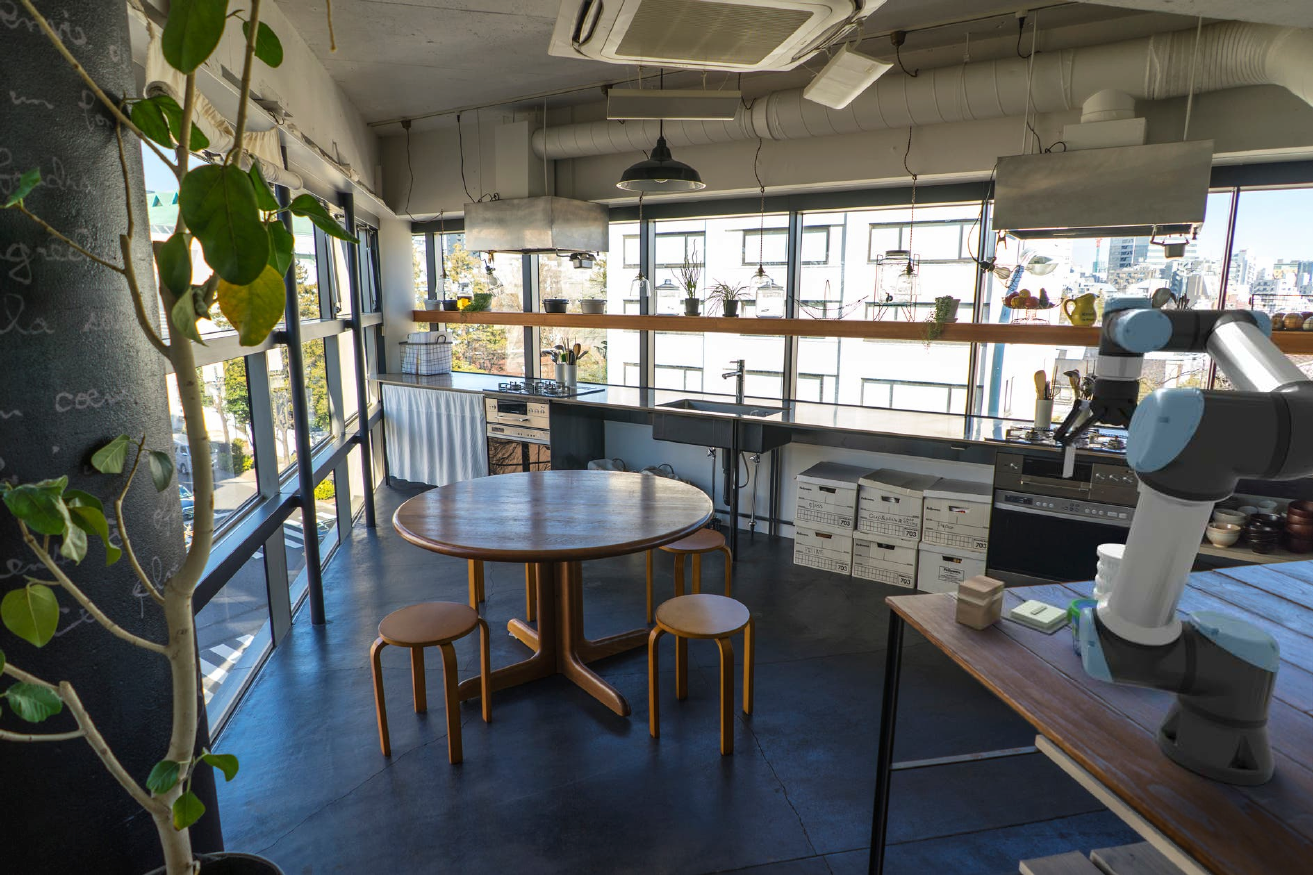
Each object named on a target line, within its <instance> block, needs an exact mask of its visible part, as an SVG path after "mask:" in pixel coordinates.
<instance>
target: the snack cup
mask: <svg viewBox="0 0 1313 875" xmlns="http://www.w3.org/2000/svg"><path fill="white" fill-rule="evenodd" d="M1097 603H1098V600H1096V599H1094V598H1078V599H1077V598H1076V599H1074V600H1072V601H1071V602H1070V605H1069V607H1068V609H1067V611H1066V614H1067V615H1066V620H1067V622H1068V624H1071V629H1072V630H1071V632H1072V633H1071V636H1072V638H1071V640H1072V649H1073V651H1075V653H1077V654H1079V655H1081V656H1082V654H1081V646H1080V630H1079V620H1080V612H1081V610H1082V609H1083V608H1089V607H1093V608H1095V609H1096V606H1097Z"/></svg>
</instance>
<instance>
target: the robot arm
mask: <svg viewBox="0 0 1313 875" xmlns="http://www.w3.org/2000/svg"><path fill="white" fill-rule="evenodd" d="M1151 303H1152V302H1151V299H1150V298H1149V297H1143V296H1141V297H1139V296H1137V297H1136V296H1135V297H1133V296H1132V297H1131V296H1124V297H1123V296H1118V297H1117V296H1114V297H1113V296H1112V297H1108V298H1107V299H1106V300H1105V302H1104V306H1103V307H1104V308H1103V312H1102V313H1101V318H1102V319H1101V328H1100V336H1099V345H1098V353H1097V359H1096V368H1095V374H1096V376H1098V377H1096V378H1094V383H1093V390H1092V399H1091V400H1086V399H1085V397H1081V398H1076V399H1074V401H1073V405H1072V409H1071V410H1070V411H1069V413H1068V415H1067V416H1066V417H1065V419H1064V420H1063V421H1062V423H1061V424H1060V426H1059V427H1058V429H1057V430H1056V431H1055V433H1054V434H1053V435H1052V440H1053V441H1054V442H1058V443H1059V444H1060V445H1061V450H1060V456H1059V457H1060V460H1061V461H1064V464H1063V473H1062V478H1066V479H1067V478H1070V477H1073V474H1074V473H1073V472H1074V467H1075V466H1074V463H1075V455H1076V448H1077V445H1076V444H1074V442H1075V441H1076V440H1077V439H1079V438H1080V437H1081V436H1083V434H1085V433H1086V432H1088V431H1089V429H1091V428H1092V427H1093V426H1095V425H1096V424H1098V423H1099V424H1100V425H1110V426H1113V427H1121V426H1122V427H1123V428H1124V429H1125V430H1126V431H1127V434H1128V435H1127V438H1126V442H1125V455H1126V456H1125V457H1126V461H1127V463H1128V465H1129V467H1130V468H1131V469H1134V471H1133V472H1134V475H1135V477H1136V478H1137V480H1138V484H1137V491H1136V492H1139V497H1138V501H1137V504H1136V508H1135V511H1134V514H1133V518H1132V521H1131V525H1130V528H1129V531H1128V535H1127V539H1126V542H1125V544H1124V545H1125V549H1124V552H1123V556H1122V559H1121V563H1120V566H1119V570H1118V573H1117V577H1116V580H1115V583H1114V587H1113V590H1112V592H1109V593H1106V594H1105V595H1103V596H1102V597H1101V598H1100V599H1099V600H1098V603H1097V606H1096V609H1095V608H1093V607H1089V608H1083V609H1082V610H1081V612H1080V620H1079V630H1080V646H1081V654H1082V655H1081V660H1082V665H1083V667H1084V671H1085V672H1086V674H1087V675H1088V676H1089V677H1091V678H1093V679H1094V680H1098V681H1103V682H1106V683H1111V684H1112V685H1113V684H1114V685H1116V684H1117V685H1122V686H1130V687H1134V688H1135V687H1136V688H1142V689H1148V690H1153V691H1154V690H1155V691H1161V692H1166V693H1167V692H1168V693H1174V694H1176V696H1175V699H1174V701H1173V702H1172V704H1171V706H1170V707H1169V708H1168V710H1167V712H1165V714H1164V715H1163V717H1162V719H1161V720H1160V721H1159V724H1158V726H1157V730H1156V731H1157V732H1156V737H1155V739H1156V742H1157V743H1156V744H1158V747H1159V748H1160V750H1161V751H1162V752H1163V753H1164V754H1165V755H1166V756H1167V757H1169V758H1170V759H1171V760H1173V761H1174V762H1176V763H1177V764H1179V765H1180V766H1182V767H1184V768H1186V769H1187V770H1189V771H1192V772H1194V773H1196V774H1198V775H1201V776H1203V777H1207V778H1208V779H1209V778H1210V779H1212V780H1215V781H1219V782H1223V783H1227V784H1231V785H1236V786H1237V785H1238V786H1258V785H1263V784H1266V783H1268V782H1270V781H1271V779H1272V778H1273V773H1274V769H1275V759H1274V758H1275V757H1274V754H1273V748H1272V745H1271V742H1270V737H1269V732H1268V728H1267V725H1268V719H1269V715H1270V709H1271V704H1272V699H1273V695H1274V690H1275V686H1276V680H1277V675H1278V673H1279V671H1280V666H1279V663H1280V662H1279V661H1280V654H1281V653H1280V652H1281V648H1280V644H1279V643H1278V640H1276V638H1274V636H1272V634H1270V633H1269V632H1268V631H1266V630H1264V629H1263V628H1261V627H1259V626H1257V625H1255V624H1253V623H1251V622H1249V621H1247V620H1244V619H1241V618H1240V617H1236V616H1234V615H1230V614H1226V613H1223V612H1220V611H1215V610H1208V609H1199V610H1193V611H1191V612H1190V614H1189V615H1188V616H1187V620H1183V619H1182V620H1181V618H1180V616H1179V615H1178V613H1177V609H1178V607H1179V604H1180V602H1181V597H1182V595H1183V592H1184V590H1185V588H1186V584H1187V583H1188V582H1187V581H1188V578H1189V576H1190V574H1191V571H1192V567H1193V565H1194V561H1195V558H1196V557H1197V553H1198V551H1199V548H1200V545H1201V543H1202V540H1203V537H1204V534H1205V532H1206V529H1207V526H1208V524H1209V520H1210V517H1211V514H1212V512H1213V510H1214V506H1215V503H1218V502H1222V501H1224V500H1226V499H1229V497H1231V496H1233V494H1234V491H1235V489H1236V488H1237V487H1236V486H1237V484H1238V481H1239V480H1240V479H1245V480H1258V481H1259V480H1261V481H1272V482H1273V481H1275V482H1276V481H1277V482H1278V481H1292V480H1297V479H1301V478H1307V477H1309V476H1310V477H1311V476H1312V475H1313V379H1311V378H1309V377H1308V376H1307V374H1305V373H1304V371H1302V369H1300V368H1299V367H1298V366H1297V365H1296V364H1295V363H1294V362H1293V361H1292V360H1291V359H1290V358H1289V357H1288V356H1287V355H1286V354H1285V353H1284V352H1283V351H1282V350H1281V349H1280V348H1279V347H1278V346H1277V345H1276V344H1274V342H1273V341H1271V337H1272V330H1273V329H1272V328H1273V325H1272V322H1271V318H1270V316H1269V314H1268V313H1267V312H1265V311H1263V310H1255V309H1254V310H1253V309H1246V308H1237V309H1195V308H1194V309H1187V308H1186V309H1185V308H1184V309H1183V308H1182V309H1180V308H1177V309H1176V308H1174V309H1173V308H1151V306H1152V304H1151ZM1152 352H1153V353H1155V352H1156V353H1159V352H1160V353H1189V354H1192V353H1193V354H1208V355H1209V357H1210V358H1211V360H1213V361H1214V363H1215V365H1217V367H1218V368H1219V369H1220V371H1222V373H1223V374H1224V375H1223V376H1225V377H1226V378H1227V380H1228V381H1229V382H1230V383H1231V385H1232V386H1233V387H1234V389H1233V390H1232V389H1230V390H1229V389H1211V388H1199V387H1194V386H1184V387H1162V388H1157V389H1155V390H1152V391H1151V392H1149V393H1147V394H1146V395H1145V396H1144V397H1143V398H1142V399H1141V401H1139V403H1138V400H1139V394H1140V393H1139V392H1140V386H1141V382H1140V380H1139V379H1137V378H1140V377H1141V376H1142V370H1143V365H1144V356H1145V354H1149V353H1152ZM1087 408H1089V410H1090V411H1091V413H1092V414H1091V415H1090V416H1089V417H1088V418H1086V420H1085V421H1084V422H1083V423H1081V424H1080V425H1079V426H1077V428H1075V429H1074V430H1073V431H1072V432H1070V433H1069V431H1070V430H1071V428H1072V427H1073V425H1075V422H1076V421H1077V420H1078V419H1079V417H1080V416H1081V414H1082V413H1083V411H1086V410H1087ZM1067 434H1068V435H1067ZM1066 435H1067V436H1066Z"/></svg>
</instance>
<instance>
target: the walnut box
mask: <svg viewBox="0 0 1313 875" xmlns="http://www.w3.org/2000/svg"><path fill="white" fill-rule="evenodd" d="M1004 590H1005V582H1004V581H1000V580H997V579H994V578H991V577H988V576H985V575H982V574H978V575H976V576H975V575H974V576H973V577H971V578H968V579H966V580H964V581H961V582H960V583H958V589H957V595H956V596H957V600H956V610H955V619H954V621H955V622H957V623H961V624H963V625H966V626H968V627H972V628H973V629H976V630H979V631H982V630H983V629H985V628H987V627H989V626H991V625H993V624H994V623H997V622H998V621H1000V620H1001V619H1002V618H1001V615H1002V611H1003V610H1002V607H1003V597H1004V594H1005V591H1004Z"/></svg>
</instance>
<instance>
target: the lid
mask: <svg viewBox="0 0 1313 875" xmlns="http://www.w3.org/2000/svg"><path fill="white" fill-rule="evenodd" d="M1027 601H1028V602H1027ZM1027 601H1025V602H1026V603H1025V602H1023V603H1024V604H1023V603H1021V604H1022V605H1021V604H1019V605H1020V606H1019V605H1017V606H1018V607H1017V606H1016V607H1017V608H1016V607H1014V608H1015V609H1014V608H1012V609H1013V610H1012V609H1010V610H1011V615H1010V616H1011V617H1014V618H1017V619H1020V620H1023V621H1025V622H1028V623H1031V624H1034V625H1037V626H1040V627H1042V628H1045V629H1046V628H1048V627H1050V626H1051V625H1053V624H1055V623H1056V622H1058V621H1059V620H1061V619H1063V618H1064V617H1066V614H1067V610H1066V609H1061V608H1059V607H1056V606H1053V605H1050V604H1047V603H1044V602H1040V601H1038V600H1034V599H1029V600H1027Z"/></svg>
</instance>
